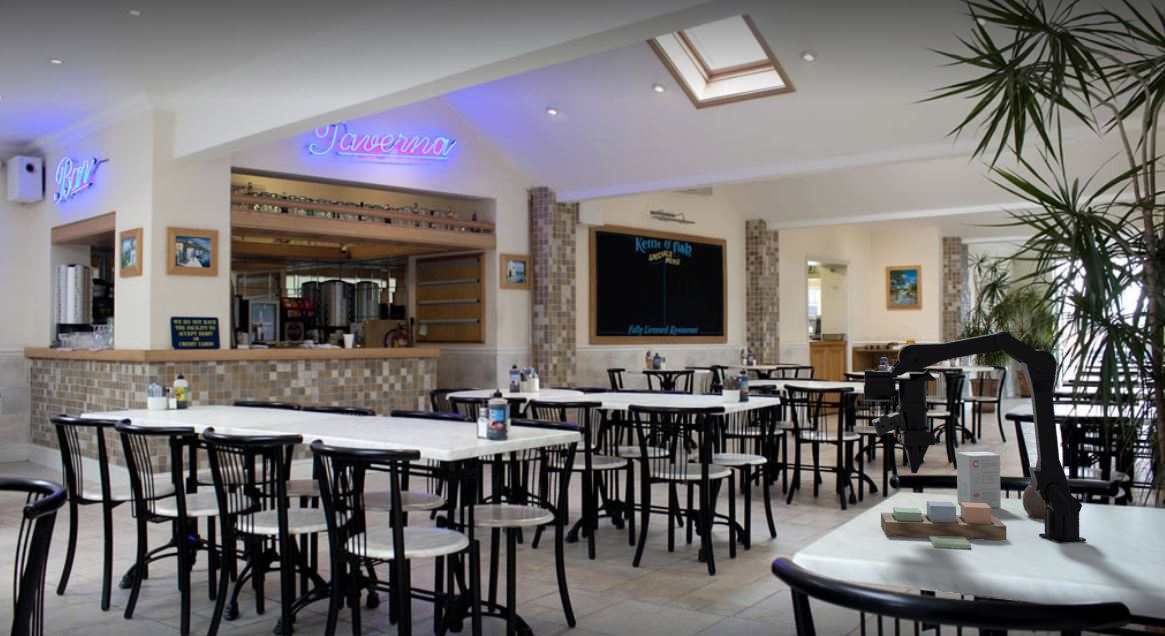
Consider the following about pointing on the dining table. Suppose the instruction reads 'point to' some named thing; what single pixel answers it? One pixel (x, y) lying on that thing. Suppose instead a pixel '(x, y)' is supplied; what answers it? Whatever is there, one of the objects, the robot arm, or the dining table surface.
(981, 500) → the small box
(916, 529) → the walnut panel
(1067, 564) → the dining table surface
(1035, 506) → the vase
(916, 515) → the sage button
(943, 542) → the sage tile
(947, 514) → the slate button
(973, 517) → the terracotta button
